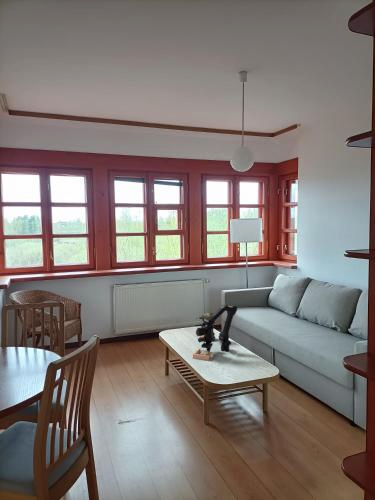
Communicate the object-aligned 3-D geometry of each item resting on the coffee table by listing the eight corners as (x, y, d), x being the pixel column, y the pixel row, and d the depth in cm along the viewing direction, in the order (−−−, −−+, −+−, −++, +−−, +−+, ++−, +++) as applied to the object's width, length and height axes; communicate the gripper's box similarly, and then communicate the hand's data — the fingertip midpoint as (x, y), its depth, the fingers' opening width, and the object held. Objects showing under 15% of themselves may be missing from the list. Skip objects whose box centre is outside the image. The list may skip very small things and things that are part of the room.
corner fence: (214, 354, 303) (214, 350, 303) (208, 360, 290) (208, 356, 289) (198, 351, 308) (198, 348, 308) (192, 358, 295) (192, 354, 294)
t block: (214, 356, 298) (214, 351, 297) (211, 360, 290) (211, 355, 290) (203, 355, 301) (203, 350, 301) (200, 358, 293) (200, 353, 293)
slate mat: (219, 353, 306) (219, 352, 306) (212, 362, 288) (212, 361, 288) (199, 350, 312) (199, 350, 312) (191, 358, 294) (191, 358, 294)
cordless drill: (193, 339, 340) (193, 313, 338) (213, 337, 347) (213, 311, 345) (196, 342, 332) (197, 315, 330) (217, 340, 339) (217, 313, 337)
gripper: (202, 329, 314) (202, 347, 315) (195, 336, 297) (195, 355, 298) (215, 331, 310) (215, 349, 311) (208, 338, 293) (208, 357, 294)
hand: (208, 352), depth 304 cm, fingers closed
